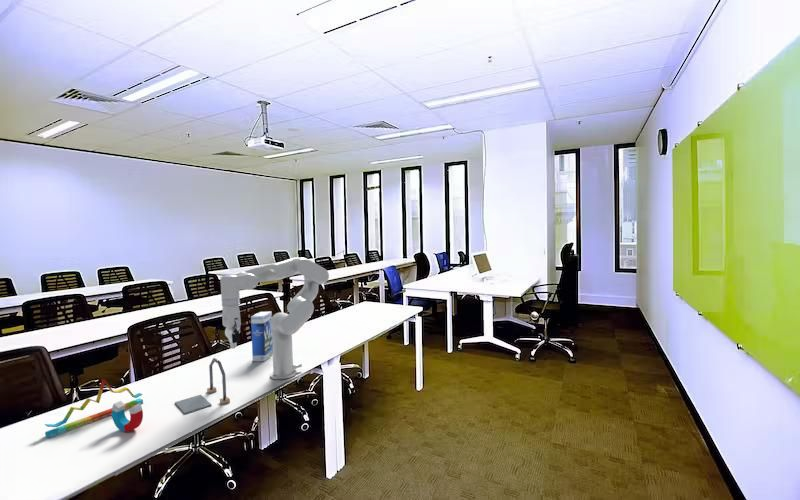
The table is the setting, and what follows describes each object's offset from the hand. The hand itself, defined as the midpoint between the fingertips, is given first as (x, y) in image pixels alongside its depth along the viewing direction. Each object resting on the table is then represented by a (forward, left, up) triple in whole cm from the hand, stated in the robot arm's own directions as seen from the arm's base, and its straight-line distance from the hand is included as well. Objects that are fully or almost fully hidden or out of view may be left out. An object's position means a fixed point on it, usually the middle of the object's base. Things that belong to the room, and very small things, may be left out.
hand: (233, 340), depth 169 cm
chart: (+48, -12, -23) cm, 55 cm away
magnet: (+41, +8, -23) cm, 48 cm away
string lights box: (-29, -33, -23) cm, 49 cm away
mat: (+18, +3, -23) cm, 29 cm away
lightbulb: (0, 0, -4) cm, 4 cm away
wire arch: (+8, +3, -23) cm, 24 cm away
